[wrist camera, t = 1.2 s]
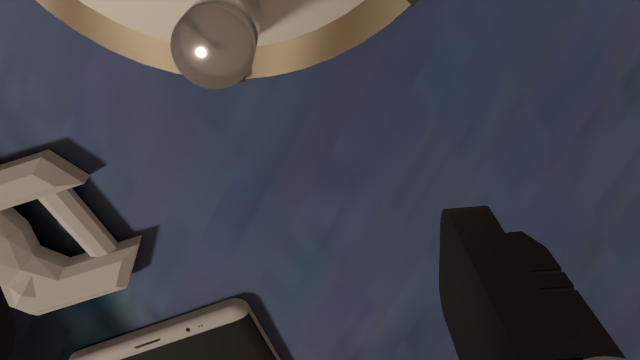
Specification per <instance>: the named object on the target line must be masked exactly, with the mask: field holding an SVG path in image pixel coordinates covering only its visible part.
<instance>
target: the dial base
mask: <svg viewBox="0 0 640 360" xmlns="http://www.w3.org/2000/svg"><path fill="white" fill-rule="evenodd" d="M36 1H37V2H38V3H39V4H41V5H42V6H43V7H44V8H45V9H46V10H47V11H49V12H50V13H51V14H53V15H54V16H56V17H57V18H59V19H60V20H61V21H63V22H64V23H66V24H67V25H68V26H70V27H71V28H73V29H74V30H76V31H77V32H78V33H80V34H82V35H84V36H85V37H87V38H89V39H91V40H93V41H94V42H96V43H98V44H100V45H102V46H103V47H105V48H107V49H109V50H111V51H113V52H115V53H118V54H120V55H123V56H125V57H127V58H130V59H132V60H135V61H137V62H139V63H142V64H145V65H148V66H152V67H155V68H159V69H163V70H166V71H170V72H173V73H178V74H182V73H181V72H180V71H179V70H178V68H177V67H176V65H175V63H174V60H173V58H172V54H171V47H170V43H171V42H169V41H166V40H162V39H159V38H156V37H152V36H149V35H145V34H142V33H140V32H138V31H135V30H133V29H131V28H128V27H126V26H124V25H121V24H119V23H117V22H114V21H112V20H111V19H109V18H107V17H105V16H104V15H102V14H100V13H98V12H97V11H95V10H93V9H91V8H90V7H88V6H86V5H84V4H83V3H82V2H80V1H79V0H36ZM418 1H419V0H365V1H363V2H362V3H360V4H359V5H358V6H356V7H355V8H353V9H352V10H351V11H349V12H348V13H346V14H345V15H343V16H341V17H339V18H338V19H336V20H334V21H332V22H330V23H328V24H326V25H325V26H323V27H321V28H319V29H317V30H314V31H311V32H309V33H306V34H303V35H301V36H298V37H295V38H293V39H290V40H285V41H281V42H277V43H272V44H268V45H264V46H256V50H255V55H254V60H253V63H252V66H251V68H250V70H249V72H248V73H247V75H246V76H245V77H244V78H243V79H242V80H241V81H239V82H245V79H248V78H258V77H269V76H275V75H279V74H284V73H288V72H292V71H297V70H301V69H304V68H307V67H310V66H313V65H315V64H318V63H321V62H324V61H326V60H329V59H332V58H334V57H336V56H338V55H340V54H342V53H343V52H345V51H347V50H349V49H351V48H353V47H355V46H357V45H359V44H361V43H362V42H364V41H365V40H367V39H368V38H370V37H371V36H372V35H374V34H375V33H377V32H378V31H380V30H381V29H383V28H384V27H385V26H387V25H388V24H390V23H391V22H392V21H393V20H394V19H395V18H396V17H397V16H399V15H400V14H401V13H402V12H403V11H404V10H405V9H406V8H408V7H409V6H410V5H412V6H414V5H415V4H416V3H417V2H418Z"/></svg>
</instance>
